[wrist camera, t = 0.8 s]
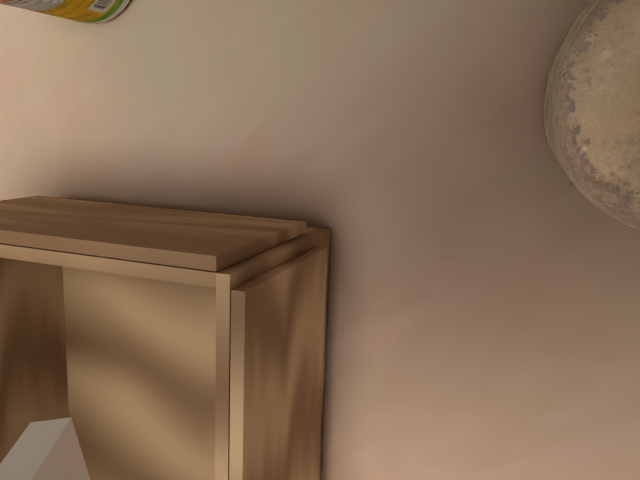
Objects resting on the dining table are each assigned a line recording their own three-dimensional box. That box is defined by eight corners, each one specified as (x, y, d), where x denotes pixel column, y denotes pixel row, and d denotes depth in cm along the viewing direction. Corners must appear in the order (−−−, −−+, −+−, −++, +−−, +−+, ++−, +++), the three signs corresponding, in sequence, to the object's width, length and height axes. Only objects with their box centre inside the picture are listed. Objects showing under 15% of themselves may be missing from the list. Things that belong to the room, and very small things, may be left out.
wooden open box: (58, 191, 34) (-124, 214, 25) (342, 217, 29) (245, 259, 19) (72, 501, 38) (-82, 622, 28) (326, 577, 32) (238, 757, 23)
